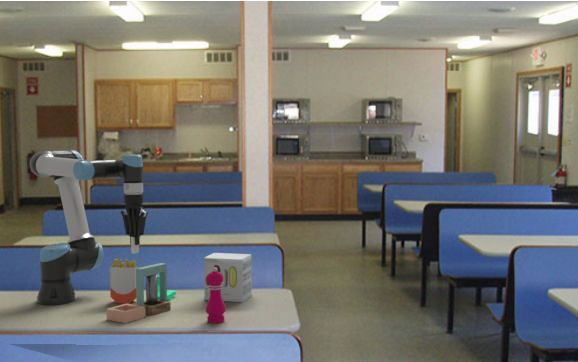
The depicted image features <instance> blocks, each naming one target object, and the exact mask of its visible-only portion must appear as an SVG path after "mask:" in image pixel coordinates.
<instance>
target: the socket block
mask: <svg viewBox="0 0 578 362" xmlns="http://www.w3.org/2000/svg"><path fill="white" fill-rule="evenodd" d="M133 305H137V302H136V303H133ZM144 307H145V315H148V314H149V316H154V314H155V315H157V313H158V314H161V313H164V312H166V311H168V312H169V311H171V308H172V307H171V301H161V300H158V304H157V305H153V306H150V305H146V300H144Z"/></svg>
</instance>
